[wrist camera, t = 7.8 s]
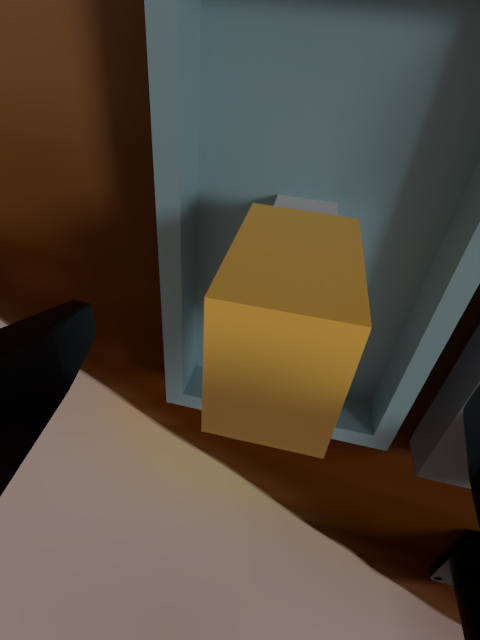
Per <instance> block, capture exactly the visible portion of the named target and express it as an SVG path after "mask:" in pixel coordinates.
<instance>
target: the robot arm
mask: <svg viewBox="0 0 480 640" xmlns="http://www.w3.org/2000/svg"><path fill="white" fill-rule="evenodd" d="M95 336H96V325H95V320H94V315H93V310H92V307H91V305H90V304H89V303H87V302H82V301H77V300H72V301H69V302H66V303H64V304H61V305H59V306H56V307H54V308H51V309H49V310H46V311H44V312H41V313H38V314H36V315H33V316H31V317H28V318H26V319H23V320H21V321H18V322H16V323H13V324H11V325H8V326H6V327H3V328H0V496H1V494H2V493H3V491H4V490H5V488H6V487H7V485H8V484H9V482H10V481H11V479H12V477H13V476H14V474H15V473H16V471H17V470H18V468H19V466H20V465H21V464H22V462H23V460H24V459H25V457H26V456H27V454H28V453H29V451H30V450H31V448H32V447H33V445H34V443H35V442H36V440H37V439H38V437H39V436H40V434H41V433H42V431H43V429H44V428H45V426H46V425H47V423H48V422H49V420H50V419H51V417H52V415H53V414H54V412H55V411H56V409H57V408H58V406H59V405H60V403H61V402H62V400H63V399H64V397H65V395H66V394H67V392H68V391H69V389H70V387H71V385H72V383H73V381H74V379H75V377H76V375H77V373H78V371H79V369H80V367H81V365H82V363H83V361H84V359H85V357H86V355H87V353H88V351H89V349H90V347H91V345H92V343H93V341H94V339H95ZM463 423H464V433H465V444H466V454H467V464H468V473H469V481H470V486H471V491H472V496H473V500H474V505H475V509H476V514H477V518H478V523H479V528H480V384H479V385H478V386H477V388H476V389H475V391H474V392H473V394H472V395H471V397H470V398H469V400H468V401H467V403H466V404H465V406H464V409H463ZM429 574H430V579H431V580H433V581H436V582H440V583H444V584H448V585H451V586H454V591H455V596H456V601H457V605H458V610H459V615H460V620H461V624H462V629H463V634H464V638H465V640H480V534H474V533H470V534H466V535H465V536H464V537H463V538H462V539H461V540H460V541H459V542H458V543H457V544H456V545H455V546H454V547H453V548H451V549H450V550H449V551H448V552H447V553H446V554H445V555H444V556H443V557H442V558H441V559H440V560H439V561H438V562H437V563H436V564H435V565H434V566H433V567H432V568H431V569H430V570H429Z"/></svg>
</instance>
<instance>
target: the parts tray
mask: <svg viewBox="0 0 480 640" xmlns="http://www.w3.org/2000/svg"><path fill="white" fill-rule="evenodd" d="M144 6H145V23H146V41H147V59H148V77H149V95H150V113H151V131H152V149H153V167H154V185H155V202H156V220H157V238H158V256H159V274H160V292H161V310H162V328H163V346H164V363H165V381H166V399H167V402H169V403H174V404H178V405H183V406H187V407H192V408H196V409H201V410H202V383H203V336H204V297H205V295H206V293H207V291H208V289H209V287H210V285H211V283H212V281H213V279H214V277H215V275H216V274H217V272H218V270H219V268H220V266H221V264H222V262H223V260H224V258H225V256H226V254H227V252H228V250H229V248H230V246H231V244H232V242H233V241H234V239H235V237H236V235H237V233H238V231H239V229H240V227H241V225H242V223H243V221H244V219H245V217H246V215H247V213H248V211H249V210H250V208H251V206H252V204H253V203H257V204H264V205H271V206H274V203H275V201H276V198H277V195H278V194H280V195H287V196H294V197H300V198H307V199H314V200H321V201H328V202H335V203H338V216H344V217H351V218H357V219H359V221H360V229H361V238H362V246H363V255H364V264H365V272H366V281H367V290H368V298H369V307H370V316H371V324H372V329H371V332H370V334H369V337H368V340H367V342H366V345H365V348H364V350H363V353H362V356H361V359H360V361H359V364H358V367H357V369H356V372H355V375H354V377H353V380H352V383H351V386H350V388H349V391H348V394H347V396H346V399H345V402H344V404H343V407H342V410H341V413H340V415H339V418H338V421H337V423H336V426H335V429H334V431H333V434H332V437H331V439H335V440H339V441H344V442H348V443H353V444H357V445H362V446H366V447H371V448H375V449H380V450H384V451H387V450H388V448H389V446H390V445H391V443H392V441H393V439H394V437H395V436H396V434H397V432H398V430H399V428H400V426H401V425H402V423H403V421H404V419H405V417H406V416H407V414H408V412H409V410H410V408H411V407H412V405H413V403H414V401H415V399H416V398H417V396H418V394H419V392H420V390H421V389H422V387H423V385H424V383H425V381H426V379H427V378H428V376H429V374H430V372H431V370H432V369H433V367H434V365H435V363H436V361H437V360H438V358H439V356H440V354H441V352H442V351H443V349H444V347H445V345H446V343H447V341H448V340H449V338H450V336H451V334H452V332H453V331H454V329H455V327H456V325H457V323H458V322H459V320H460V318H461V316H462V314H463V313H464V311H465V309H466V307H467V305H468V304H469V302H470V300H471V298H472V296H473V294H474V293H475V291H476V289H477V287H478V285H479V284H480V0H144Z"/></svg>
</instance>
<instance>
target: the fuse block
mask: <svg viewBox="0 0 480 640" xmlns="http://www.w3.org/2000/svg"><path fill="white" fill-rule="evenodd" d="M479 384H480V323H479V325H478V327H477V328H476V330H475V332H474V333H473V335H472V337H471V338H470V340H469V342H468V343H467V345H466V347H465V348H464V350H463V352H462V353H461V355H460V357H459V358H458V360H457V362H456V363H455V365H454V367H453V368H452V370H451V372H450V374H449V375H448V377H447V379H446V380H445V382H444V384H443V385H442V387H441V389H440V390H439V392H438V394H437V395H436V397H435V399H434V400H433V402H432V404H431V405H430V407H429V409H428V410H427V412H426V414H425V415H424V417H423V419H422V420H421V422H420V424H419V425H418V427H417V429H416V430H415V432H414V434H413V435H412V437H411V439H410V440H409V441H410V447H411V453H412V458H413V464H414V470H415V475H416V476H417V477H421V478H426V479H430V480H434V481H439V482H443V483H448V484H452V485H456V486H461V487H465V488H469V489H471V486H470V481H469V473H468V464H467V454H466V444H465V433H464V423H463V409H464V406H465V404H466V403H467V401H468V400H469V398H470V397H471V395H472V394H473V392H474V391H475V389H476V388H477V386H478V385H479Z"/></svg>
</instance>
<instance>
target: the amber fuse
mask: <svg viewBox="0 0 480 640" xmlns="http://www.w3.org/2000/svg"><path fill="white" fill-rule="evenodd" d="M371 329H372V324H371V316H370V307H369V298H368V290H367V281H366V272H365V264H364V255H363V246H362V238H361V229H360V221H359V219H357V218H351V217H344V216H338V203H335V202H328V201H321V200H314V199H307V198H300V197H294V196H287V195H280V194H278V195H277V198H276V201H275V203H274V206H271V205H264V204H257V203H253V204H252V206H251V208H250V210H249V211H248V213H247V215H246V217H245V219H244V221H243V223H242V225H241V227H240V229H239V231H238V233H237V235H236V237H235V239H234V241H233V242H232V244H231V246H230V248H229V250H228V252H227V254H226V256H225V258H224V260H223V262H222V264H221V266H220V268H219V270H218V272H217V274H216V275H215V277H214V279H213V281H212V283H211V285H210V287H209V289H208V291H207V293H206V295H205V297H204V336H203V383H202V430H201V431H203V432H207V433H212V434H216V435H221V436H225V437H229V438H234V439H238V440H243V441H247V442H252V443H256V444H261V445H265V446H269V447H274V448H278V449H283V450H287V451H292V452H296V453H300V454H305V455H309V456H314V457H318V458H324V456H325V453H326V450H327V448H328V445H329V442H330V440H331V437H332V434H333V431H334V429H335V426H336V423H337V421H338V418H339V415H340V413H341V410H342V407H343V404H344V402H345V399H346V396H347V394H348V391H349V388H350V386H351V383H352V380H353V377H354V375H355V372H356V369H357V367H358V364H359V361H360V359H361V356H362V353H363V350H364V348H365V345H366V342H367V340H368V337H369V334H370V332H371Z"/></svg>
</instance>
